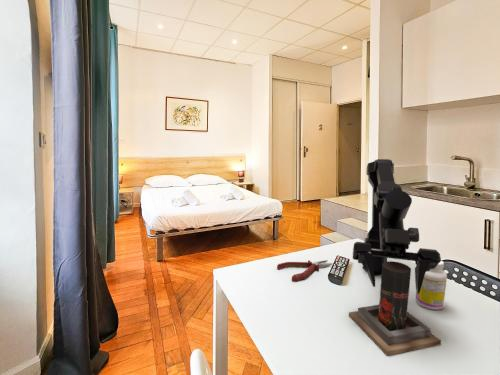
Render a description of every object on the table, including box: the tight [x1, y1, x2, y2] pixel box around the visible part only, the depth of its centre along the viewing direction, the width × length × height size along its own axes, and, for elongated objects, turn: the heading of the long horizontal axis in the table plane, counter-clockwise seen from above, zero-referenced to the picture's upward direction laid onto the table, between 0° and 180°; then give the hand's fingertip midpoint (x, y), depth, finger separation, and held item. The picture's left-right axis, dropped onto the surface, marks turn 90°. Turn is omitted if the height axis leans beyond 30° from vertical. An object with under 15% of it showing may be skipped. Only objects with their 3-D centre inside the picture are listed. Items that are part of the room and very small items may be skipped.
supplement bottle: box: [415, 260, 448, 311], centre depth 76 cm, size 7×7×13 cm
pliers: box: [276, 259, 334, 283], centre depth 98 cm, size 12×20×3 cm, turn 116°
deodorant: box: [378, 260, 412, 331], centre depth 65 cm, size 6×6×15 cm
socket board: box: [348, 304, 442, 357], centre depth 66 cm, size 14×14×3 cm
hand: (395, 289), depth 63 cm, fingers open, 9 cm apart
